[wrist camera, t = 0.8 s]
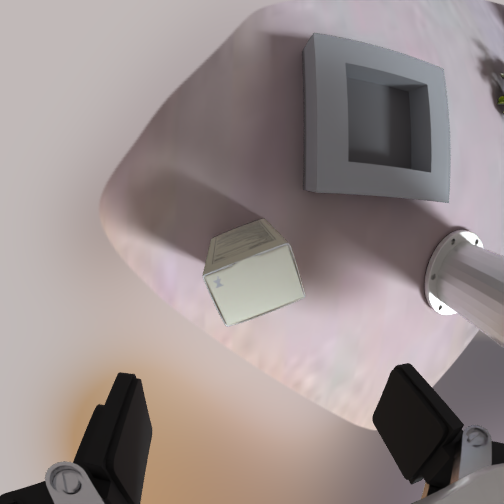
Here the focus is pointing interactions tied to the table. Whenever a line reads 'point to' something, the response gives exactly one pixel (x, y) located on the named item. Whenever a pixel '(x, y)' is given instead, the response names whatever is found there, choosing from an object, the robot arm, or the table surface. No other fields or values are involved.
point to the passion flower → (501, 99)
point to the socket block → (374, 122)
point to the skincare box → (251, 272)
